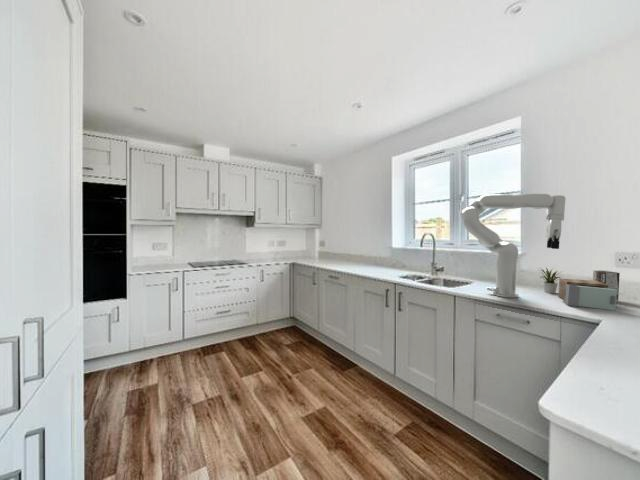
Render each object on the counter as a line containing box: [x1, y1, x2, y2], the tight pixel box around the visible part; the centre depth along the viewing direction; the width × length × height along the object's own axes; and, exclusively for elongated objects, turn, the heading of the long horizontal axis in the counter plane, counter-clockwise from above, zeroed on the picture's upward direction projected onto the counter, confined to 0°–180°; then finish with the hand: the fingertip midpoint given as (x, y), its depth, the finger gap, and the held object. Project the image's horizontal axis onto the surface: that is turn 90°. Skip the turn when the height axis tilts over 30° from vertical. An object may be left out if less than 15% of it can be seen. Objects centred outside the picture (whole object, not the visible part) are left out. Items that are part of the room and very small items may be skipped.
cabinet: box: [558, 277, 608, 308], centre depth 142 cm, size 18×22×11 cm
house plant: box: [537, 267, 563, 294], centre depth 168 cm, size 14×14×16 cm
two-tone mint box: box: [564, 284, 617, 311], centre depth 134 cm, size 18×4×10 cm, turn 63°
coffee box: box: [592, 270, 620, 303], centre depth 149 cm, size 9×6×16 cm
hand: (552, 248), depth 151 cm, fingers open, 9 cm apart
